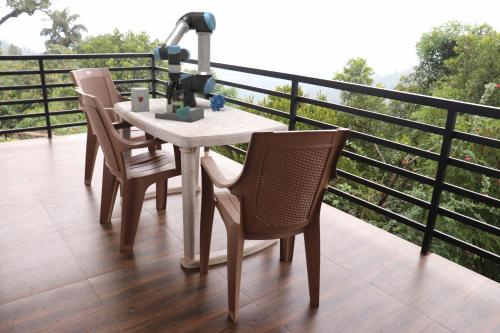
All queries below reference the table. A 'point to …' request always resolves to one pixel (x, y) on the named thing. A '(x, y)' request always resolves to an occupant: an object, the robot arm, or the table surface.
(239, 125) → the table surface
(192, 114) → the lane
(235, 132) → the table surface
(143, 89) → the supplement box
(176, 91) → the coffee can
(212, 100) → the grapes
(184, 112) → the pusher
